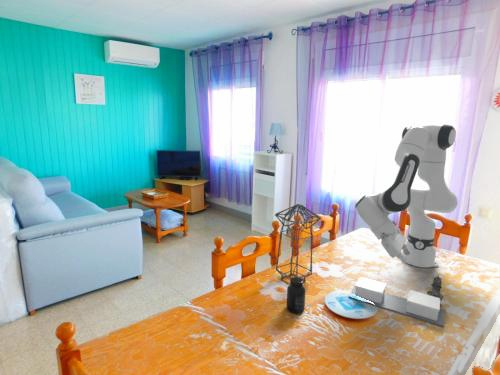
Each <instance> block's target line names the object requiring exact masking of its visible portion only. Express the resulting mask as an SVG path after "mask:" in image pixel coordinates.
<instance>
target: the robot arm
mask: <svg viewBox="0 0 500 375" xmlns="http://www.w3.org/2000/svg"><path fill="white" fill-rule="evenodd" d="M456 135H457V131H456V129H455V127H454V126H453V125H449V124H446V123H444V124H439V123H412V124H408V125H406V126H405V127H404V129H403V130H402V134H401V140H400V142H399V144H398V147H397V150H396V152H395V155H394V161H395V163H396V165H397V166H399V169H398V171H397V174H396V178H395V180H394V182H393V184H392V185H391V186H390V187H389V188H387V189H386V190H385V191H383V192H380V193H375V194H365V195H363V196H362V197H361V198H360V199H359V200H358V201H357V202H356V203H355V206H354V207H355V208H354V209H355V211H356V212H357V215H358V216H359V218H360V219H361V220H362V221H363V222H364V223H365V225H367V226H368V227H369V229H370V232H372V234H373V235H374V236H375V237H376V238H377V240H379V241H380V240H381V242H380V243H381V246H382V247H383V249H384V250H385V251H386V252H387V254H388V255H389V257H391V258H392V259H393V258H397V259H399V260H400V262H402V264H408V265H411V266H414V267H417V268H432V267H433V268H437V267H439V262H438V260H437V259H436V257H437V256H436V254H437V250H436V248H435V247H434V245H435V233H436V223H435V221H434V219H433V218H431V217H429V215H427V214H426V212H425V211H429V212H434V213H440V214H441V213H442V214H444V213H445V214H446V213H447V214H450V213H452V212H454V211H455V210H456V208H457V206H458V198H457V196H456V195H455V193H454V192H452V191H451V189H450V188H449V187H448V185H447V183H446V181H445V180H446V179H445V167H446V160H447V149H449V148H450V147H452V146H453V145H454V142H455V140H456V138H457V136H456ZM416 175H417V176H418V178H419V179H420V180H422V181H424V182H425V183H426V184H427V185H428V187H422V186H421V187H420V186H412V185H413V183H414V180H415V178H416ZM405 210H406V211H407V212H408V215H409V218H410V223H409V224H410V225H409V232H408V234H407V241H406V236H405V235H404V234H403V232H402V231H401V230H400V229H399V228H398V226H397V223H396V222H395V221H393V220H391V219H390V217H389V215H392V214H396V213H399V212H403V211H405Z"/></svg>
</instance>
